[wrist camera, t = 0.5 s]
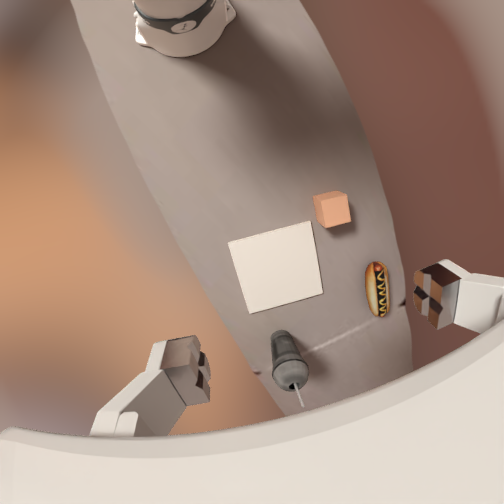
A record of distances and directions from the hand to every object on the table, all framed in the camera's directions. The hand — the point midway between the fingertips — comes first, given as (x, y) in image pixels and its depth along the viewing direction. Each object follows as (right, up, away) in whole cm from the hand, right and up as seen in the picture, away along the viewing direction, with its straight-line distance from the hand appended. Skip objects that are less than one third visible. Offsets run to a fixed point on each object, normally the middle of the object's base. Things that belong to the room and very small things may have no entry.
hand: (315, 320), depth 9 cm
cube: (+12, +11, +44) cm, 47 cm away
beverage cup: (+4, -17, +54) cm, 56 cm away
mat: (+3, -1, +47) cm, 47 cm away
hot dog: (+25, -5, +51) cm, 57 cm away
